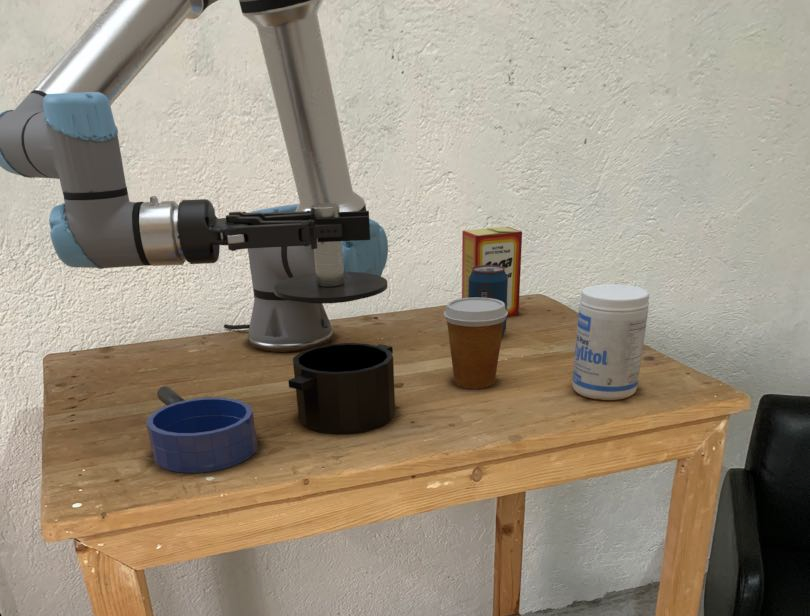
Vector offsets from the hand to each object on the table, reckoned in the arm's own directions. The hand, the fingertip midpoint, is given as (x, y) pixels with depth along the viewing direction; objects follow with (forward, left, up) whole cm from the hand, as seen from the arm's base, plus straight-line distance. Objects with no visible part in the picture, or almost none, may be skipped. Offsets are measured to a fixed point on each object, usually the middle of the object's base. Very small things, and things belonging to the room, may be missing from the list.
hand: (369, 225), depth 100 cm
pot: (-3, -4, -26) cm, 26 cm away
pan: (-3, -25, -26) cm, 36 cm away
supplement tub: (+12, +32, -26) cm, 43 cm away
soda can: (-22, +36, -26) cm, 50 cm away
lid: (-3, -5, -8) cm, 9 cm away
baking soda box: (-34, +46, -26) cm, 63 cm away
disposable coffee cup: (-3, +19, -26) cm, 32 cm away
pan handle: (-14, -25, -23) cm, 36 cm away
